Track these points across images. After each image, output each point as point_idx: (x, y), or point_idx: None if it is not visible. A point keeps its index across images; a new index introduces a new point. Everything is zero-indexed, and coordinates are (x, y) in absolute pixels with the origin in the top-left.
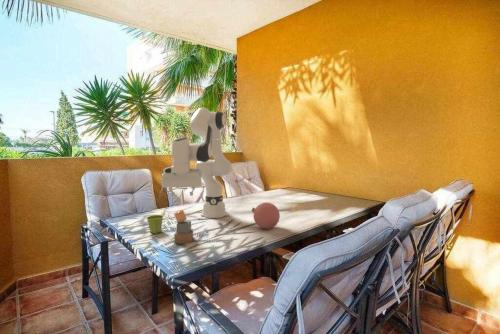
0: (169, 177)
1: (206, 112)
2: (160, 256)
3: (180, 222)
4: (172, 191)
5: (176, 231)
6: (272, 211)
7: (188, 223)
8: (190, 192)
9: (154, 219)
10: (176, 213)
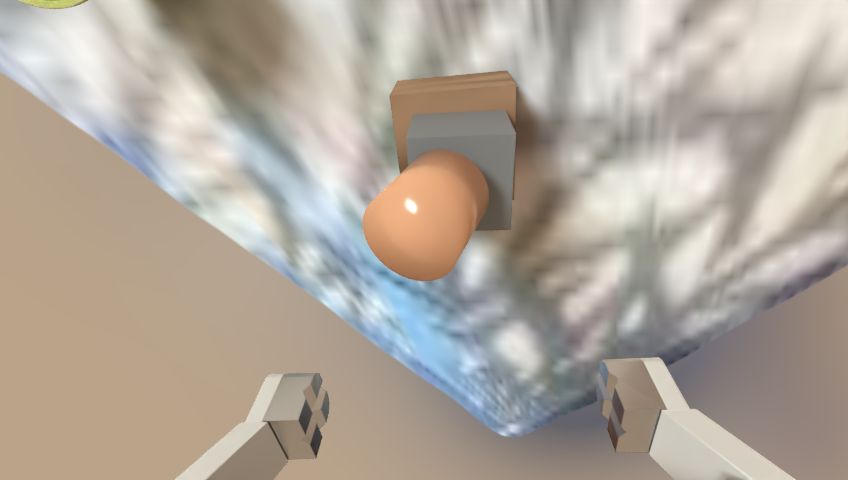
0: None
1: None
2: (407, 330)
3: None
4: (261, 447)
5: (398, 152)
6: None
7: (509, 217)
8: (631, 449)
9: (82, 2)
10: (403, 270)
